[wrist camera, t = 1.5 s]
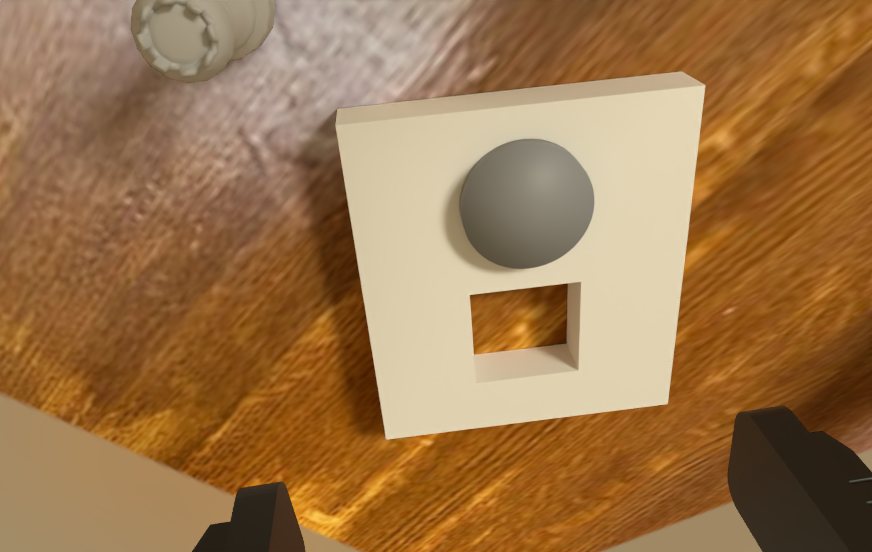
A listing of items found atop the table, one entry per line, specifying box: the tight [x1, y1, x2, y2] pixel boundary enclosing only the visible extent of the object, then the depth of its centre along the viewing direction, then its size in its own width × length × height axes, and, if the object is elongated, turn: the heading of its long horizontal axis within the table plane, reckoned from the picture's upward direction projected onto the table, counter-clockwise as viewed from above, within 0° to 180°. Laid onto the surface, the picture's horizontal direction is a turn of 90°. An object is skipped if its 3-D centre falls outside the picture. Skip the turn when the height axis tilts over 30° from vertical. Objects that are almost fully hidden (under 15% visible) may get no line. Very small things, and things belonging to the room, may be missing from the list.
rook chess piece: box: [131, 0, 276, 83], centre depth 25 cm, size 4×4×8 cm
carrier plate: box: [335, 72, 705, 439], centre depth 34 cm, size 18×16×4 cm
